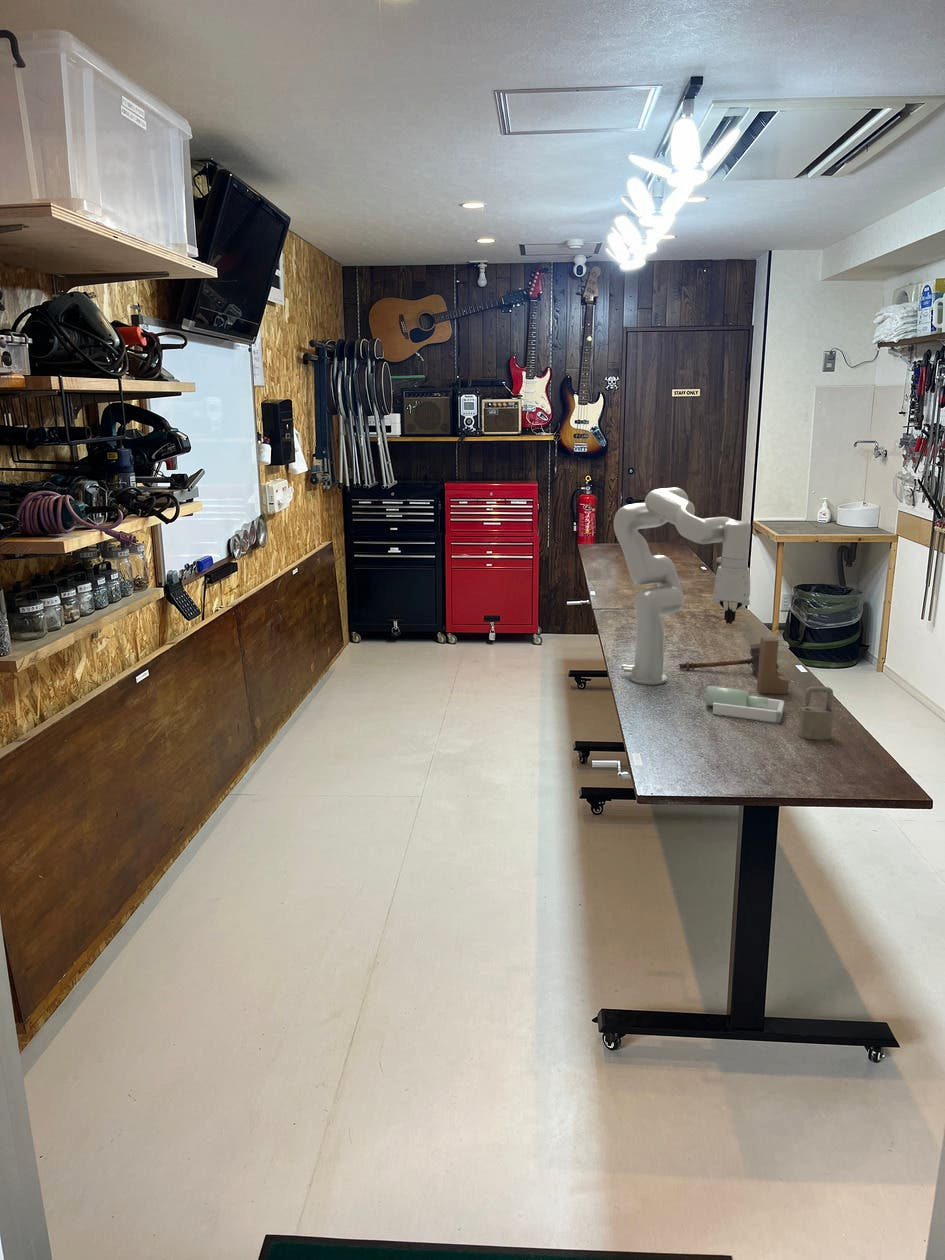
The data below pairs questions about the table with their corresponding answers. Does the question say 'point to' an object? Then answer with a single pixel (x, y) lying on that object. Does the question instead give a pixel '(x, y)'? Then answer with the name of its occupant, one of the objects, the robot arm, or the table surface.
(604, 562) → the table surface
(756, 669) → the hammer
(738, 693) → the bottle
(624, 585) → the table surface
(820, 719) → the padlock
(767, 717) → the u rest
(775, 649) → the wooden block
